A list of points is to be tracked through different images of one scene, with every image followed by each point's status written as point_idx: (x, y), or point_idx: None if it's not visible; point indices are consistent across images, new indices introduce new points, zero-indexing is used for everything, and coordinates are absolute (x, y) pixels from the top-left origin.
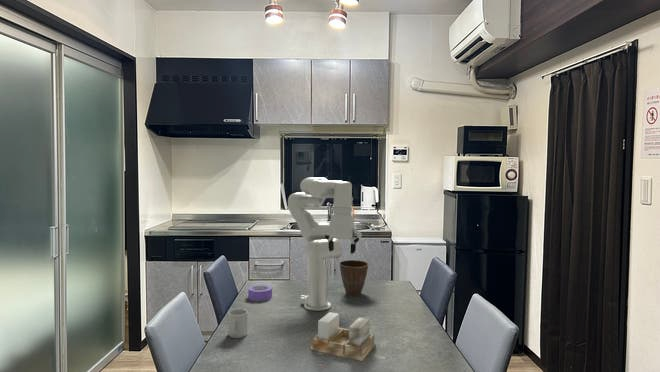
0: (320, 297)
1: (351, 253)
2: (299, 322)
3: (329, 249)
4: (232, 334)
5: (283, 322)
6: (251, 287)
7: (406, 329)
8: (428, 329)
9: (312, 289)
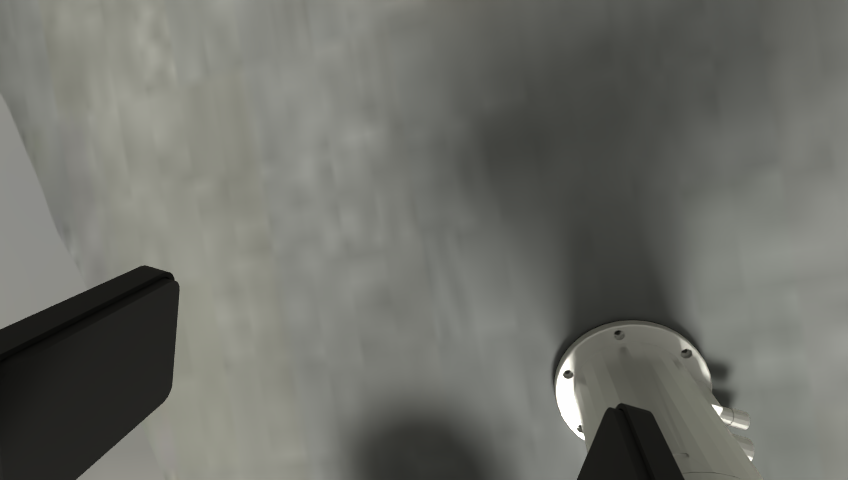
0: (621, 377)
1: (160, 271)
2: (701, 139)
3: (653, 430)
4: None
5: (804, 117)
6: None
7: (164, 166)
8: (82, 187)
9: (695, 406)
